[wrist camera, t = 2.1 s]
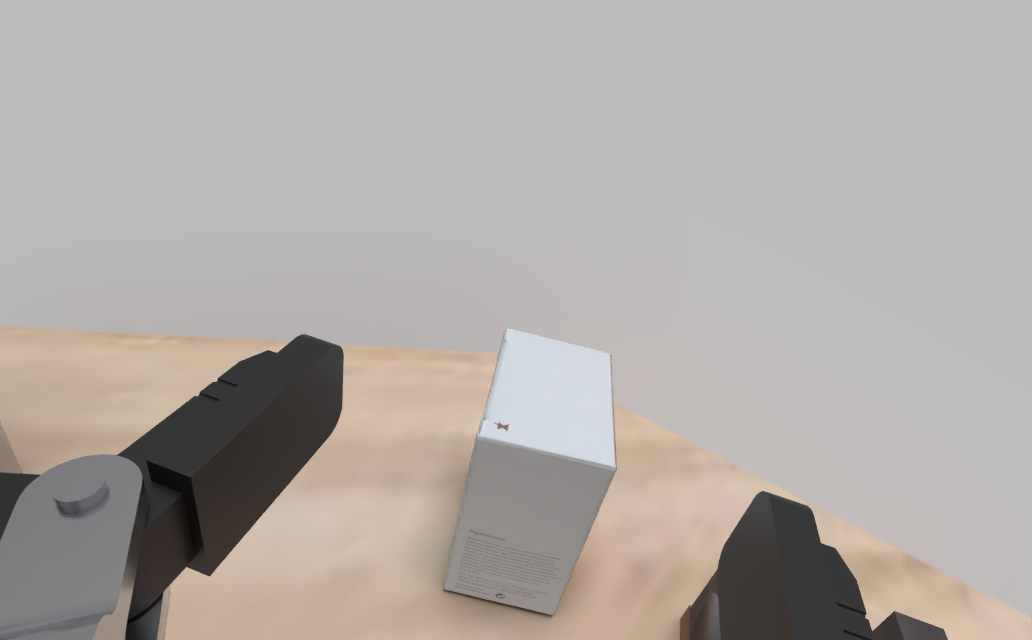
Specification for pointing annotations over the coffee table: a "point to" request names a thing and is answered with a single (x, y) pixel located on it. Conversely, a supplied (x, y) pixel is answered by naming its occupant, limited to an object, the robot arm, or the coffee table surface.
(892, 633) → the stand
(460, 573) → the small box
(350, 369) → the coffee table surface
